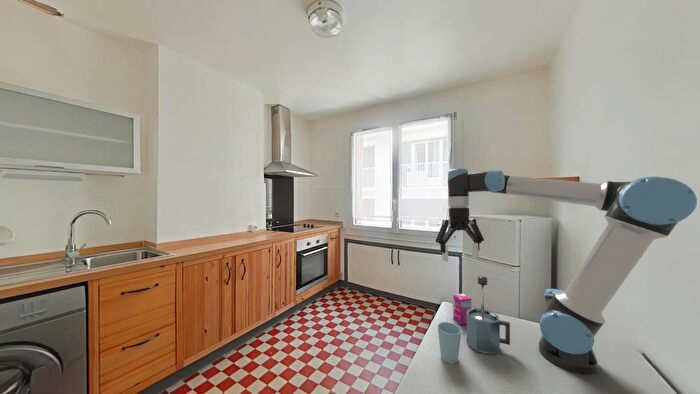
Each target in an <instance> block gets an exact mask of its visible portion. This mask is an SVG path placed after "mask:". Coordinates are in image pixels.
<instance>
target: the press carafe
mask: <svg viewBox="0 0 700 394" xmlns="http://www.w3.org/2000/svg"><path fill="white" fill-rule="evenodd" d="M473 312H480V313H481V308H476V307H475V308H471V309H468V310H467V325H466V344H467V346H468V347H469V348H470V349H472V350H473V351H475V352H477V353H480V354H482V355H487V356H495V355H498V354H500V351H501V347H500V346H501V344H504V345H508V346H511V323H510V322H509V321H505V320H500V318H499V315H498V314H496V313H493V312H492V311H490V310H487V309H484V313H485V314H488V315H490V316H492V317H493V318H494V319H495V321H492V322H487V321H482V320H477V319H476V318H474V317H472V316H470V314H471V313H473ZM500 326H504V328H505V334H504V335H505V337H504V338H502V337H501V336H500V335H501V327H500Z"/></svg>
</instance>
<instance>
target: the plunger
mask: <svg viewBox="0 0 700 394" xmlns="http://www.w3.org/2000/svg"><path fill="white" fill-rule="evenodd" d="M477 284H478V285H480V309H481V313H480V312H473V313H471V314H470V316H472V317H474V318H476V319H477V320H482V321H487V322H492V321H495V319H494V318H493V317H492V316H490V315H488V314H485V313H484V310H485V286H487V285H488V277H487V276H484V275H478V276H477Z"/></svg>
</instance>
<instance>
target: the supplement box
mask: <svg viewBox="0 0 700 394" xmlns="http://www.w3.org/2000/svg"><path fill="white" fill-rule="evenodd" d="M468 309H472V298H471V297H470V296H468V295H466V294H465V293H457V294H455V293H454V294H452V319H453V320H454V321H455V322H456V323H458V324H459V325H460V326H463V325H464V326H467V325H466V324H467V310H468Z"/></svg>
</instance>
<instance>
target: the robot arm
mask: <svg viewBox="0 0 700 394" xmlns="http://www.w3.org/2000/svg"><path fill="white" fill-rule="evenodd" d="M447 189H448V191H447V192H448V206H449V208H448V217H449V219H442V220H441V223H442V224H441V227H440V229H439V231H438V234H437V236H436V238H435V243H437V244H439V245H440V253H441V254H442V255H441V257H442V258H441V259H442V261H444V262H446V263H448V262H449V248H448V247H449V246H448V244H447V243H448V241H449V240H450V239H451V237H452V236H453V234H455V232H457V231H465V233H466V234H467V235H468V236H469V238H470V239H471V240H472V242H471V255H472V256H471V257H472V259H474V260H477V261H478V260H480V258H479V257H480V255H479V252H480V250H481V249H480V244H482V242H484V241H485V239H484V237H483V234H482V232H481V230H480V228H479V226H478V224H477V219H476V218H469V217H470V196H469V195H470V193H475V192H477V193H478V192H481V193H482V192H488V193H494V194H495V193H496V194H503V195H504V194H505V195H512V196H517V197H526V198H530V199H531V198H533V199H541V200H547V201H554V202H561V203H568V204H575V205H581V206H589V207H595V208H596V209H597V210H598V211H603V212H606V214H605V215H604V218H605V221H606V222H607V225H606V227H605V228H604V230H603V232H602V233H601V235H600V236H599V238H598V239H597V241H596V242H595V244H594V245H593V246H592V248H591V250H590V251H589V253H588V254H587V256H586V258H585V259H584V261H583V263H582V264H581V265H580V267H579V269H578V270H577V272H576V273H575V275H574V276H573V278H572V280H571V281H570V282H569V284H568V286H567V287H566V289H565V290H563V289H558V288H557V289H555V288H546V289H545V290H544V294H543V295H544V305H543V310H542V313H541V316H540V317H539V323H538V324H539V329H540V330H539V331H540V333H541V334H542V335H541V337H540V340H538V351H539V353H540V355H541V356H542V357H544V358H545V359H546V360H547V361H548V362H551V363H552V364H554V365H556V366H557V367H560V368H563V369H565V370H568V371H571V372H575V373H579V374H584V375H585V374H586V375H592V374H596V373H597V372H598V371H599V362H598V359H597V357H596V354H595V351H594V349H593V347H594V344H595V336H596V335H597V334H598V332H599V330H601V328H602V326H603V325H604V324H605V322H606V321H605V318H604V315H603V314H602V313H603V311H604V310H605V308H606V307H607V306H608V304H609V303H610V301H611V300H612V298H613V297H614V295H616V293H617V292H618V290H619V289H620V287H621V286H622V285H623V283H624V282H625V281H626V279H627V277H629V275H630V273H631V272H632V271H633V270H634V268H635V267H636V265H637V264H638V262H639V261H640V260H641V258H642V257H643V256H644V254H645V253H646V251H647V250H648V249H649V247H650V245H651V244H652V243H653V242H654V241H655V240H658V239H663V238H664V239H665V238H668V236H669V235H670V234H671V233H672V231H673V230H674V229H675V227H676V225H677V224H678V223H679V222H681V221H683V220H685V219H687V218H688V217H689V216H691V215H692V213H693V212H695V210H696V207H697V204H698V198H697V196H696V194H695V192H694V190H693V189H692V188H691V187H690V186H688V185H687V184H686V183H683V182H682V181H679V180H677V179H674V178H670V177H665V176H664V177H661V176H645V177H641V178H637V179H635V180H632V181H613V180H612V181H611V180H606V181H604V182H602V183H598V182H597V183H596V182H586V181H585V182H584V181H574V180H573V181H572V180H562V179H551V178H542V177H540V178H539V177H530V176H529V177H528V176H518V175H517V176H516V175H508V174H507V175H506V174H504V172H503V171H502V170H501V169H500V170H485V171H479V172H478V171H477V172H469V170H468V168H453V169H450V170H448V173H447Z"/></svg>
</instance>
